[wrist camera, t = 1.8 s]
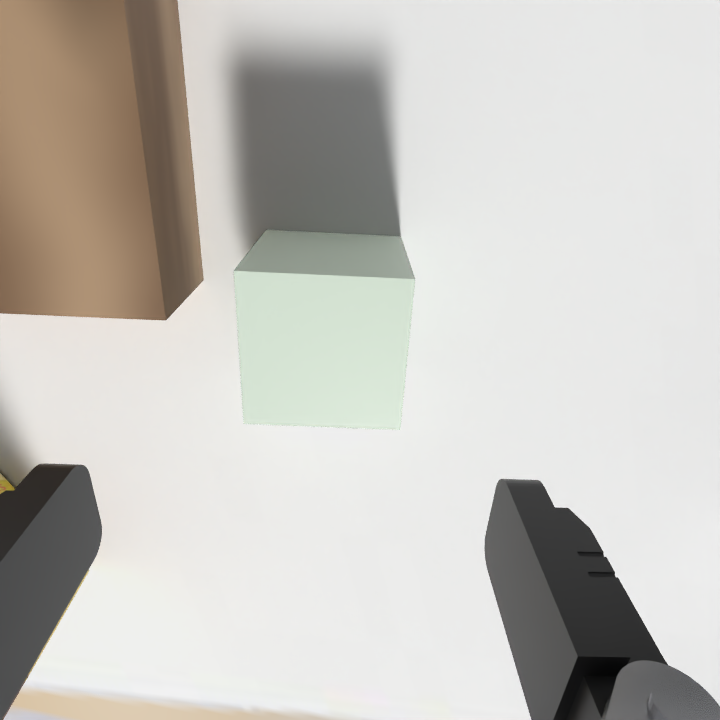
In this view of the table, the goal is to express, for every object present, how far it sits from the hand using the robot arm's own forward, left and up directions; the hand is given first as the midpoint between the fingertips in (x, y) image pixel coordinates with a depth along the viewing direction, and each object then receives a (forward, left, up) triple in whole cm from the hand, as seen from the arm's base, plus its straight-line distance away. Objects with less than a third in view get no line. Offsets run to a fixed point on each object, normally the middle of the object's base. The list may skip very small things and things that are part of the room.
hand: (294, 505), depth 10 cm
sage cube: (0, 0, -13) cm, 13 cm away
